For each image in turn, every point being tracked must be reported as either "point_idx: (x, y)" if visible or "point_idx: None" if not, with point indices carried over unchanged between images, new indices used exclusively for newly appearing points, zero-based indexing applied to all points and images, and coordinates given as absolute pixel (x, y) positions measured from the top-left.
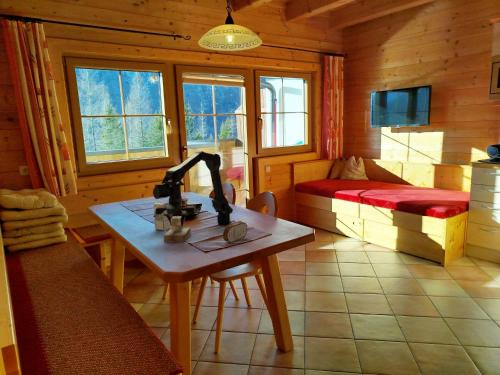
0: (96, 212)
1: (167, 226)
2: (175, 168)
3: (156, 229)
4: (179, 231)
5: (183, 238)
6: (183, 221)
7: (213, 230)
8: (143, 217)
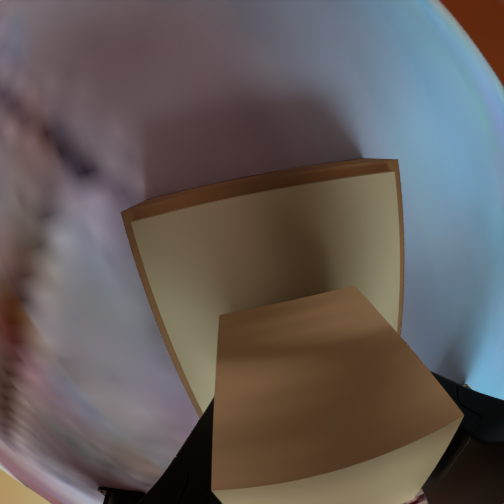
0: None
1: None
2: None
3: (464, 385)
4: None
5: (148, 201)
6: (186, 453)
7: (108, 446)
8: None
